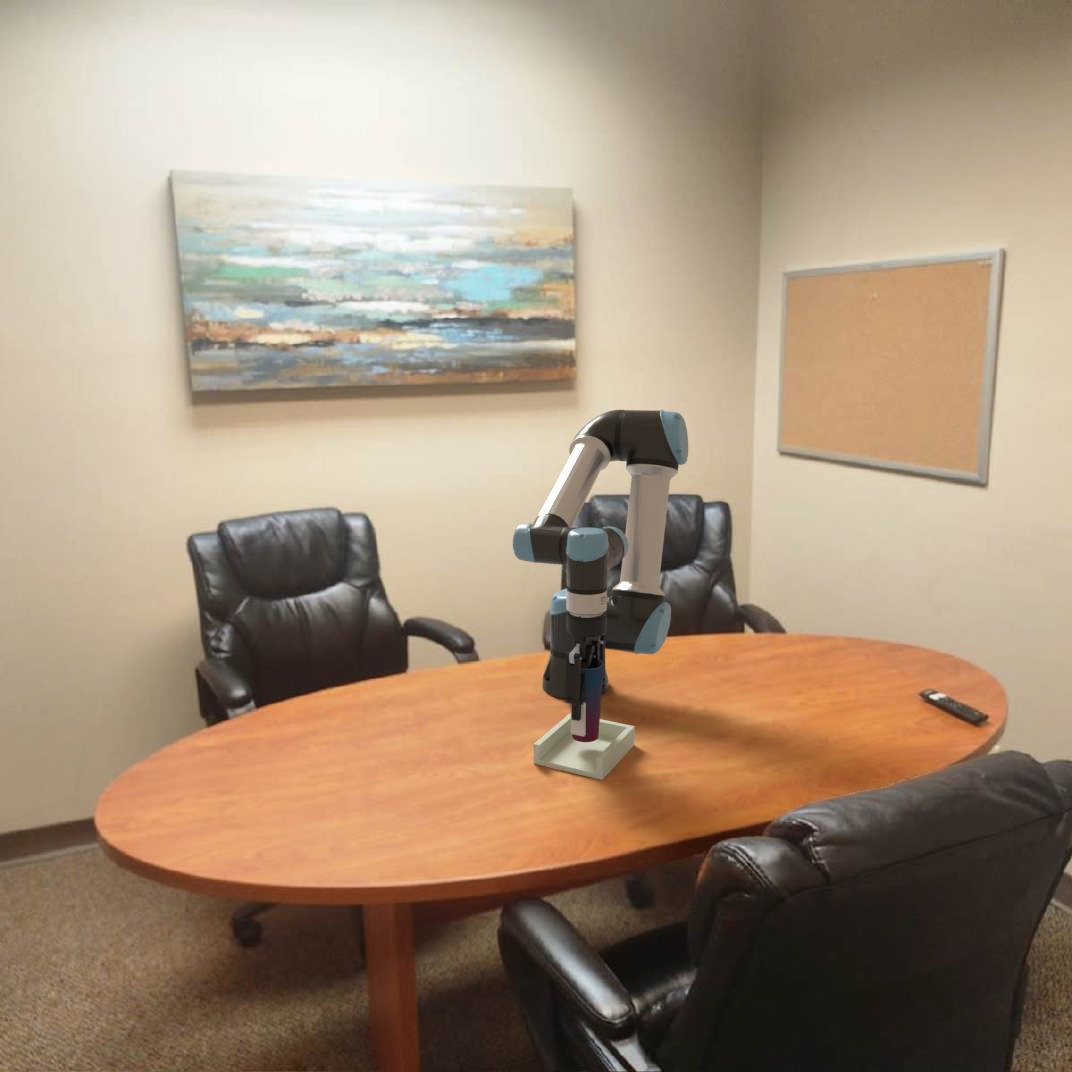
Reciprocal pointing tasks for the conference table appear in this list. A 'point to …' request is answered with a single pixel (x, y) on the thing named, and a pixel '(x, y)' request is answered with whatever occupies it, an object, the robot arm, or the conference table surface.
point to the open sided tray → (584, 748)
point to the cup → (592, 702)
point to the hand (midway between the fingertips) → (585, 727)
